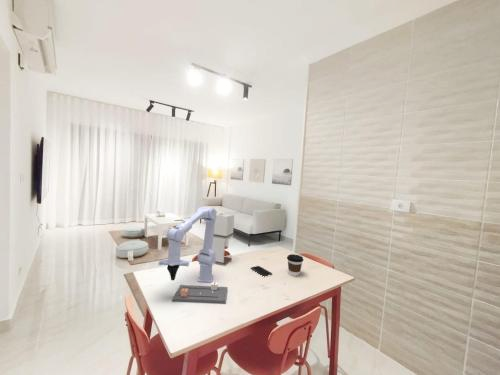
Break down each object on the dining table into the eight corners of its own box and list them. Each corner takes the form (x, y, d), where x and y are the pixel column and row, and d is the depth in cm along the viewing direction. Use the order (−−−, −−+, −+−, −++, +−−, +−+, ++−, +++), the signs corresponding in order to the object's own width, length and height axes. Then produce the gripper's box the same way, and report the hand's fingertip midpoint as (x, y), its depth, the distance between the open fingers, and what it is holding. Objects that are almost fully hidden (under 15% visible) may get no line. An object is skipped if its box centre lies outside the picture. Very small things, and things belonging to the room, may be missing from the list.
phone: (263, 276, 145) (249, 267, 157) (263, 277, 145) (249, 269, 157) (273, 273, 150) (258, 265, 162) (272, 275, 150) (258, 267, 162)
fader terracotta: (182, 293, 116) (182, 287, 116) (188, 293, 116) (188, 288, 116) (180, 296, 113) (180, 290, 113) (186, 296, 113) (186, 291, 113)
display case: (224, 265, 159) (227, 216, 158) (211, 263, 163) (213, 214, 161) (231, 260, 170) (234, 214, 168) (218, 258, 174) (221, 212, 172)
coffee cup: (295, 279, 144) (296, 261, 144) (282, 273, 153) (283, 255, 152) (305, 275, 152) (307, 257, 151) (292, 269, 160) (293, 253, 159)
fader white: (211, 287, 124) (212, 281, 124) (217, 287, 124) (217, 282, 124) (211, 289, 121) (211, 284, 121) (216, 290, 121) (217, 284, 121)
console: (180, 287, 125) (180, 284, 125) (227, 289, 126) (227, 286, 126) (172, 301, 111) (172, 298, 111) (225, 303, 112) (225, 300, 112)
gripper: (156, 254, 109) (155, 282, 109) (187, 256, 109) (185, 283, 110) (161, 250, 116) (160, 276, 117) (190, 251, 116) (189, 277, 117)
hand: (173, 279), depth 114 cm, fingers closed
